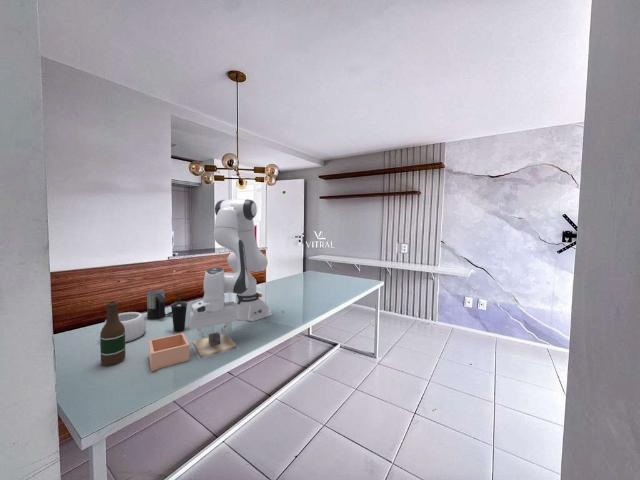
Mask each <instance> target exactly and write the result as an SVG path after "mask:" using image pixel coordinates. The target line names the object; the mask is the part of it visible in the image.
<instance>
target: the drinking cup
mask: <svg viewBox="0 0 640 480" xmlns="http://www.w3.org/2000/svg"><path fill="white" fill-rule="evenodd" d="M177 295H178V296H177V297H178V298H177V300H178V301H175V302H173V303H171V304H170V308H171V312H172V315H171V316H172V317H171V318H172V325H173V328H172V329H173V331H175V333H180V331H181V332H183V331H185V328H186V327H185V326H186V319H187V309H188V308H187V307H188V302H186V301H181V292H180V291H178V293H177Z"/></svg>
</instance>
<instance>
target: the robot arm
mask: <svg viewBox="0 0 640 480" xmlns="http://www.w3.org/2000/svg"><path fill="white" fill-rule="evenodd" d="M214 205H215V206H214V213H215V216H216V218H215V221H214V229H213V239H214V241H215V242H216V243H217V244H218V245H219V246H220V247H222V248H225V249H227V250H229V251H231V253H229V255H228V256H227V265H228V267H229V268H230V269H231V270H232V271H233V272H225V271H224V268H222V267H218V266H216V267H215V266H214V267H213V266H212V267H210V268H208V269H206V270H205V271H204V278H203V292H204V294H203V299H202V300H199V301H198V302H194V303H193V304H191V311H190V312H189V315H188V321H187V326H188V328H189V330H197V331H198V333H199V337H200V338H204V337H205V332H204V331H202V329H203V328H208V327H212V326H213V327H214V326H218V325H223V324H224V326H223V327H222V328H221V333H222V334H225V333H227V329H228V327H229V325H230V323H233V322H236V321H247V322H255V321H259V320H260V319H264V318H268V317H272V316H273V312H272V311H271V310H270V309H269V306H268V305H269V304H267V303H266V302H265V301H264V300H263V299H262V297H263V294H262V293H259V292H257V279H256V278H255V277H254V276H253V275H252V274H251V272H256V273H257V272H263V271H265V270H266V269H267V267H268V263H269V262H268V258H267V256H266V255H265V254H264V253H263V252H262V251H261V249H260V248H259V247H258V244H257V241H256V240H257V239H256V233H255V232H256V231H255V223H254V218H255V217H256V215H257V212H258V209H257V207H258V206H257V203H256V202H255V201H254V200H253V199H249V198H247V199H243V198H235V199H221V200H218V201H217V202H216V204H214ZM225 293H226V294H227V293H228V294H232V293H233V294H236V295H235V296H236V297H235V302H234V301H227V302H225Z"/></svg>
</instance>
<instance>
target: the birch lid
mask: <svg viewBox="0 0 640 480" xmlns="http://www.w3.org/2000/svg"><path fill="white" fill-rule="evenodd" d="M230 338H231V337H230V336H229V335H228V334H227V333H222V334H220V333H219V331H217V332H213V333H208V337H205V338H204V337H203V338H202V339H196V340H192V343H193V345H194V347H195V348H196V350H197V352H198V354H199V356H200V358H203V357H207V356H210V355H214V354H218V353H221V352H225V351H229V350H232V349H236V348H237V346H238V345H237V344H236V343H235V341H232V340H233V339H232V338H231V339H232V340H231V339H230ZM236 345H237V346H236Z"/></svg>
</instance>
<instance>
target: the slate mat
mask: <svg viewBox="0 0 640 480" xmlns="http://www.w3.org/2000/svg"><path fill="white" fill-rule="evenodd" d="M230 339H231V340H232V341H233V339H232V338H231V337H230ZM233 342H234V341H233ZM189 345H190V346H191V348H192V350H193V352H194V354H195V356H196V359H197V360H198V361H200V360H204V359H208V358H211V357H212V358H213V357H214V356H218V355H221V354H225V353H229V352H233V351H236V350H240V347H239V346H238V345H237V344H236V346H237V348H236V349H232V350H229V351H225V352H221V353H218V354H214V355H210V356H207V357H203V358H200V356H199V354H198V352H197V350H196V348H195V347H194V345H193V342H189Z"/></svg>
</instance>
